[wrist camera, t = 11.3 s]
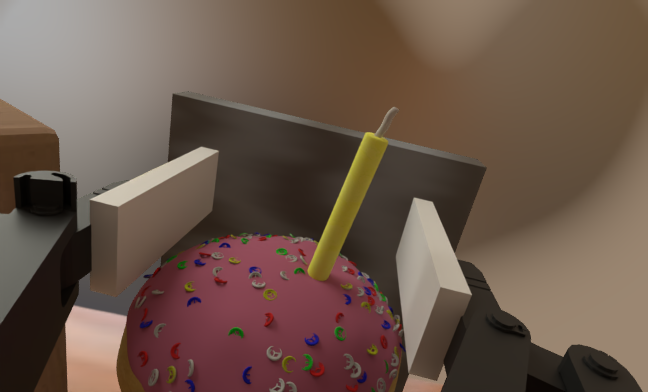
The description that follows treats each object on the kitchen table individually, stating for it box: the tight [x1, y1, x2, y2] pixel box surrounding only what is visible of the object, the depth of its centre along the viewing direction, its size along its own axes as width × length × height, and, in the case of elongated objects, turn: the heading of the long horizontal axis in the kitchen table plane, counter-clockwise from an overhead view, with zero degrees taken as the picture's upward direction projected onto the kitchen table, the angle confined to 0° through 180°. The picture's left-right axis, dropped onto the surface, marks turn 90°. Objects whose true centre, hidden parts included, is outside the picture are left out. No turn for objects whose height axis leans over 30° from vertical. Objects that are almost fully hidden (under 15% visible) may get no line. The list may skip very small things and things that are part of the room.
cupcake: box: [116, 107, 406, 392], centre depth 12 cm, size 9×8×12 cm
